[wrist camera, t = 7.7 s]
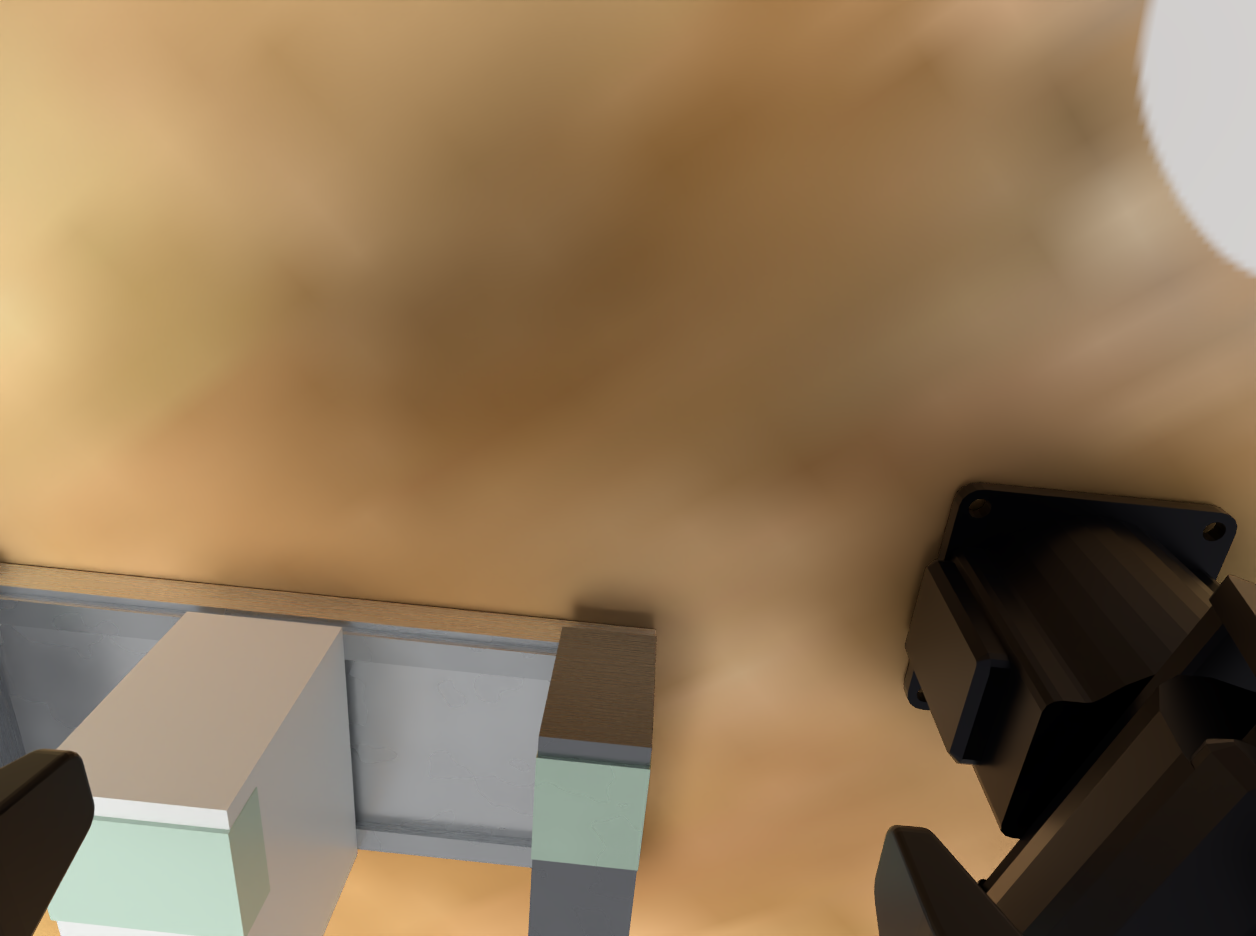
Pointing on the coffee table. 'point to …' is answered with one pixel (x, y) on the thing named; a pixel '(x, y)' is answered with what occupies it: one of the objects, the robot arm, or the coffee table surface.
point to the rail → (399, 720)
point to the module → (217, 787)
